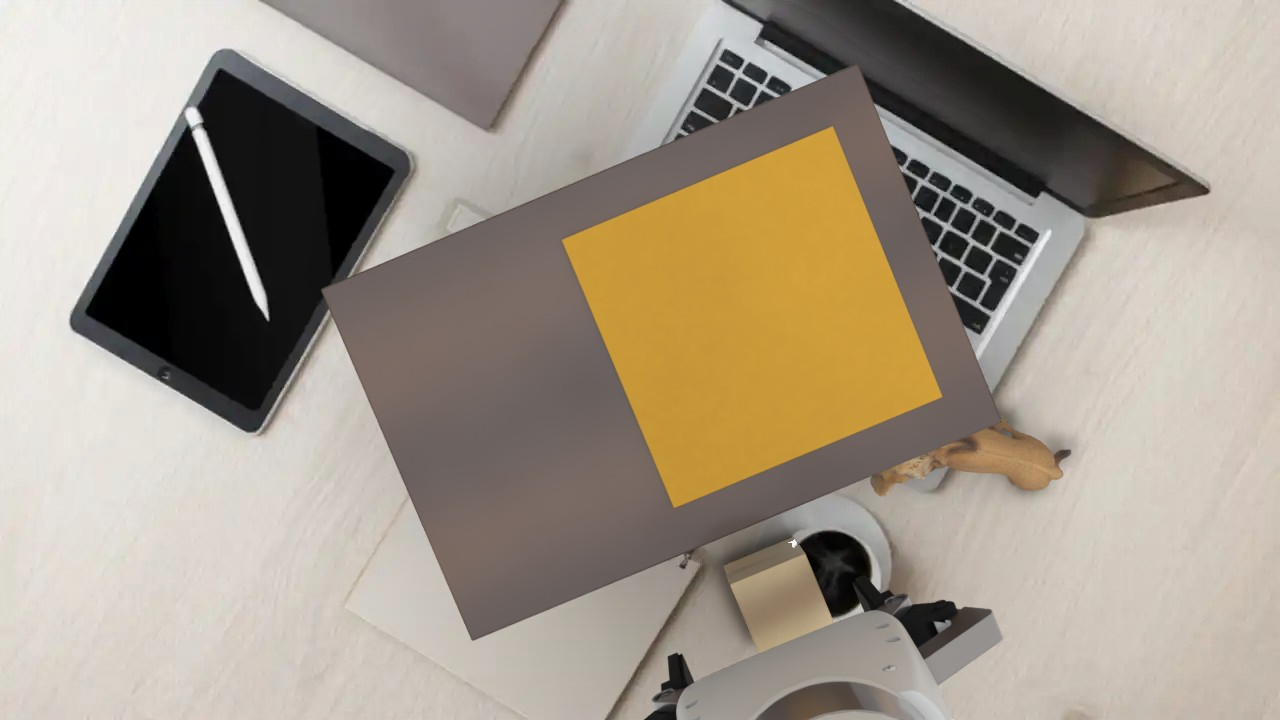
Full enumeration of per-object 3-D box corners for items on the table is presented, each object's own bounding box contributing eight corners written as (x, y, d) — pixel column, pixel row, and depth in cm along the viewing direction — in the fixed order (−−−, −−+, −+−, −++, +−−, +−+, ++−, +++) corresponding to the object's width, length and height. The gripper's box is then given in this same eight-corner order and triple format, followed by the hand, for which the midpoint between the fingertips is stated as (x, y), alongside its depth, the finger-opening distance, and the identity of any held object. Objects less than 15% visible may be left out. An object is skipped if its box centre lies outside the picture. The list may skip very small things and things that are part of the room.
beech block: (822, 605, 72) (836, 627, 67) (752, 634, 72) (760, 658, 67) (793, 536, 72) (805, 553, 67) (723, 565, 72) (729, 584, 67)
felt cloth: (940, 396, 46) (943, 397, 45) (673, 506, 46) (673, 508, 45) (831, 127, 45) (833, 125, 45) (561, 240, 45) (561, 239, 45)
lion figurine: (841, 478, 72) (870, 502, 63) (845, 397, 72) (875, 410, 63) (1064, 488, 72) (1125, 514, 63) (1070, 408, 72) (1132, 422, 63)
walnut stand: (870, 381, 72) (1002, 422, 46) (531, 521, 72) (471, 641, 46) (777, 153, 71) (858, 62, 45) (436, 296, 71) (319, 289, 45)
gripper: (645, 1002, 36) (643, 781, 54) (1129, 805, 36) (971, 646, 53) (557, 798, 36) (583, 641, 53) (1045, 597, 36) (913, 504, 53)
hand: (777, 643), depth 53 cm, fingers open, 9 cm apart
